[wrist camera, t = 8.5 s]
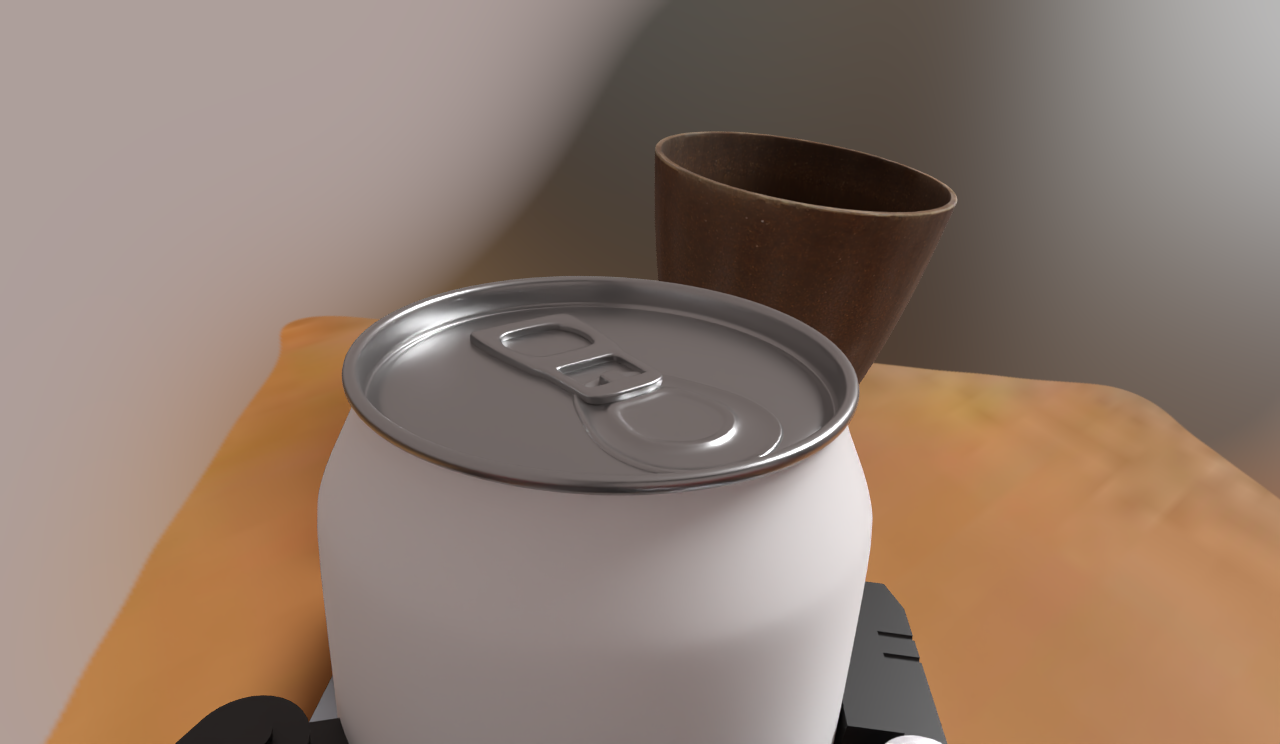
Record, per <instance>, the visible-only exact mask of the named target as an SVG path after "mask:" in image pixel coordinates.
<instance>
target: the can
mask: <svg viewBox="0 0 1280 744" xmlns="http://www.w3.org/2000/svg"><path fill="white" fill-rule="evenodd" d="M342 382H343V388H344V391H345V394H346V397H347V399H348V401H349V403H350V405H351V410H350V412H349V415H348V417H347V419H346V421H345V423H344V426H343V428H342V430H341V432H340V434H339V437H338V439H337V441H336V443H335V446H334V448H333V450H332V453H331V455H330V458H329V460H328V463H327V465H326V468H325V471H324V474H323V478H322V482H321V485H320V489H319V495H318V518H317V530H318V544H319V556H320V567H321V579H322V587H323V596H324V605H325V614H326V622H327V631H328V640H329V648H330V657H331V665H332V673H333V681H334V689H335V698H336V706H337V714H338V718H340V721H341V724H342V727H343V730H344V733H345V735H346V738H347V740H348V742H349V744H834V739H835V734H836V729H837V724H838V719H839V714H840V709H841V704H842V699H843V694H844V689H845V684H846V679H847V674H848V669H849V664H850V659H851V654H852V648H853V643H854V638H855V633H856V627H857V622H858V617H859V612H860V606H861V601H862V596H863V590H864V584H865V578H866V572H867V566H868V560H869V554H870V546H871V532H872V507H871V501H870V496H869V491H868V487H867V483H866V479H865V476H864V472H863V469H862V466H861V464H860V461H859V458H858V455H857V452H856V449H855V446H854V443H853V441H852V438H851V435H850V432H849V428H848V424H849V423H850V421H851V419H852V418H853V415H854V413H855V411H856V408H857V405H858V400H859V383H858V379H857V375H856V373H855V370H854V368H853V366H852V364H851V363H850V361H849V360H848V358H847V357H846V356H845V355H844V353H843V352H842V351H841V350H840V349H839V348H838V347H837V346H836V345H835V344H834V343H833V342H831V341H830V340H829V339H828V338H826V337H825V336H824V335H822V334H821V333H819V332H818V331H816V330H815V329H813V328H812V327H810V326H808V325H807V324H805V323H803V322H801V321H799V320H797V319H795V318H793V317H791V316H789V315H787V314H785V313H782V312H780V311H777V310H775V309H773V308H770V307H767V306H765V305H762V304H759V303H756V302H753V301H750V300H747V299H743V298H740V297H736V296H733V295H729V294H725V293H721V292H717V291H713V290H708V289H704V288H699V287H693V286H688V285H682V284H676V283H669V282H662V281H653V280H645V279H634V278H621V277H599V276H561V277H541V278H527V279H516V280H508V281H500V282H493V283H486V284H481V285H476V286H470V287H465V288H461V289H456V290H453V291H448V292H445V293H441V294H438V295H434V296H431V297H428V298H425V299H422V300H419V301H417V302H414V303H412V304H409V305H407V306H404V307H402V308H400V309H398V310H396V311H394V312H392V313H390V314H388V315H387V316H385V317H383V318H381V319H380V320H378V321H377V322H375V323H374V324H373V325H371V326H370V327H369V328H367V329H366V330H365V331H364V332H363V333H362V334H361V335H360V336H359V337H358V338H357V339H356V340H355V342H354V343H353V344H352V346H351V347H350V349H349V351H348V352H347V354H346V357H345V360H344V363H343V368H342Z"/></svg>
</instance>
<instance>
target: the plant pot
mask: <svg viewBox="0 0 1280 744" xmlns="http://www.w3.org/2000/svg"><path fill="white" fill-rule="evenodd" d="M956 203H957V197H956V194H955V193H954V192H953V190H952V189H950V188H949V187H948V186H947V185H945V184H944V183H942V182H941V181H939V180H937V179H935V178H934V177H932V176H929V175H927V174H925V173H923V172H921V171H918V170H916V169H913V168H911V167H908V166H906V165H903V164H900V163H897V162H894V161H890V160H887V159H884V158H881V157H878V156H874V155H871V154H867V153H863V152H860V151H856V150H851V149H847V148H842V147H838V146H833V145H828V144H823V143H818V142H812V141H807V140H801V139H794V138H788V137H782V136H773V135H766V134H755V133H743V132H693V133H683V134H678V135H673V136H669V137H667V138H664V139H662V140H661V141H659V142H658V143H657V145H656V146H655V230H656V251H657V268H658V280H659V281H662V282H669V283H676V284H682V285H688V286H693V287H699V288H704V289H708V290H713V291H717V292H721V293H725V294H729V295H733V296H736V297H740V298H743V299H747V300H750V301H753V302H756V303H759V304H762V305H765V306H767V307H770V308H773V309H775V310H777V311H780V312H782V313H785V314H787V315H789V316H791V317H793V318H795V319H797V320H799V321H801V322H803V323H805V324H807V325H808V326H810V327H812V328H813V329H815V330H816V331H818V332H819V333H821V334H822V335H824V336H825V337H826V338H828V339H829V340H830V341H831V342H833V343H834V344H835V345H836V346H837V347H838V348H839V349H840V350H841V351H842V352H843V353H844V355H845V356H846V357H847V358H848V360H849V361H850V363H851V364H852V366H853V368H854V370H855V373H856V375H857V379H858V383H859V384H860V382H861V381H862V379H863V378H864V376H865V375H866V373H867V371H868V370H869V368H870V367H871V365H872V364H873V362H874V361H875V359H876V357H877V356H878V354H879V352H880V351H881V349H882V347H883V346H884V344H885V342H886V341H887V339H888V337H889V336H890V334H891V332H892V330H893V329H894V327H895V325H896V323H897V322H898V320H899V318H900V316H901V315H902V313H903V311H904V309H905V307H906V305H907V303H908V302H909V300H910V298H911V296H912V294H913V292H914V291H915V289H916V287H917V285H918V283H919V281H920V279H921V277H922V275H923V273H924V271H925V269H926V267H927V265H928V263H929V260H930V259H931V257H932V254H933V252H934V250H935V248H936V246H937V244H938V242H939V240H940V238H941V235H942V233H943V231H944V229H945V227H946V225H947V223H948V221H949V218H950V216H951V214H952V212H953V209H954V207H955V205H956Z"/></svg>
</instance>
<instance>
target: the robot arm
mask: <svg viewBox="0 0 1280 744" xmlns="http://www.w3.org/2000/svg"><path fill="white" fill-rule="evenodd" d="M912 636H913V635H912V632H911V629H910V626H909V623H908V620H907V617H906V614H905V610H904V608H903V607H902V606H901V605H900V603H899V602H898V601H897V600H896V599H895V597H894V596H893V595H892V594H891V592H890V591H889V590H888V589H887V587H886V586H885V585H884V584H880V583H872V582H865V584H864V590H863V596H862V601H861V606H860V612H859V617H858V622H857V627H856V633H855V638H854V643H853V648H852V654H851V659H850V664H849V669H848V674H847V679H846V684H845V689H844V694H843V699H842V704H841V709H840V714H839V719H838V724H837V729H836V734H835V739H834V744H947V741H946V738H945V735H944V732H943V729H942V726H941V723H940V720H939V716H938V713H937V710H936V707H935V704H934V701H933V698H932V695H931V692H930V688H929V685H928V682H927V679H926V676H925V673H924V670H923V667H922V663H919V658H920V657H919V654H918V651H917V648H916V645H915V642H914V641H912ZM175 744H349V742H348V740H347V738H346V735H345V733H344V730H343V727H342V724H341V721H340V718H335V719H328V720H321V721H315V722H308V719H307V717H306V715H305V714H304V712H303V711H302V710H301V709H300V708H299V707H298V706H297V705H296V704H294V703H293V702H291V701H289V700H286V699H284V698H281V697H276V696H264V695H261V696H251V697H246V698H242V699H238V700H236V701H233V702H230V703H228V704H226V705H223V706H221V707H219V708H218V709H216V710H215V711H213V712H211V713H210V714H209V715H207V716H206V717H205V718H204V719H202V720H201V721H200V722H199V723H198V724H197V725H196V726H194V727H193V728H192V729H191V730H190V731H189V732H188V733H187V734H185V735H184V736H183V737H182V738H181V739H180V740H179V741H178V742H177V743H175Z"/></svg>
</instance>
